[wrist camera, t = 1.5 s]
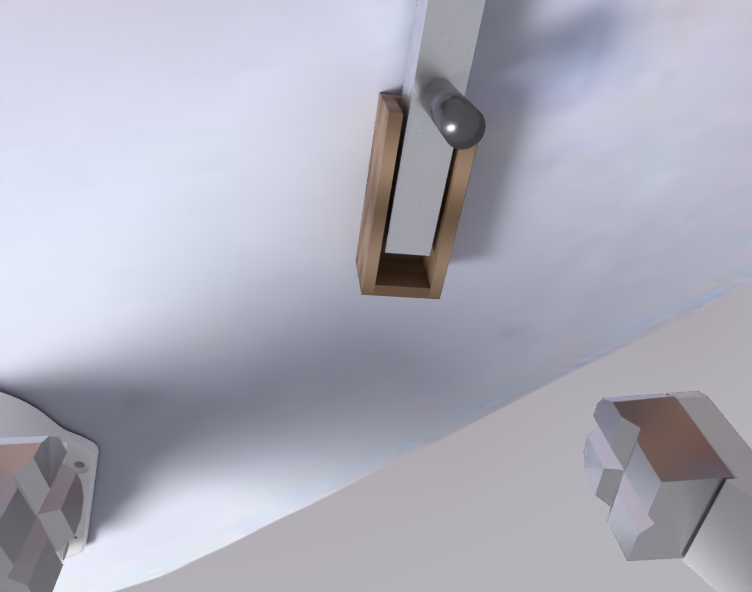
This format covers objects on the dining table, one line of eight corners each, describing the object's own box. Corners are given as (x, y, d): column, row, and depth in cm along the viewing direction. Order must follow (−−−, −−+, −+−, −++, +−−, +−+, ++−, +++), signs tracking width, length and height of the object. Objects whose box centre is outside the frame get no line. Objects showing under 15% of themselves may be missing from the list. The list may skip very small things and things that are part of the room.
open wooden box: (427, 266, 42) (439, 299, 38) (355, 261, 41) (361, 294, 37) (463, 102, 36) (482, 122, 32) (379, 92, 35) (389, 111, 31)
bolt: (421, 235, 39) (449, 306, 32) (379, 231, 39) (398, 303, 31) (475, -26, 31) (531, -11, 23) (422, -34, 30) (462, -22, 23)
